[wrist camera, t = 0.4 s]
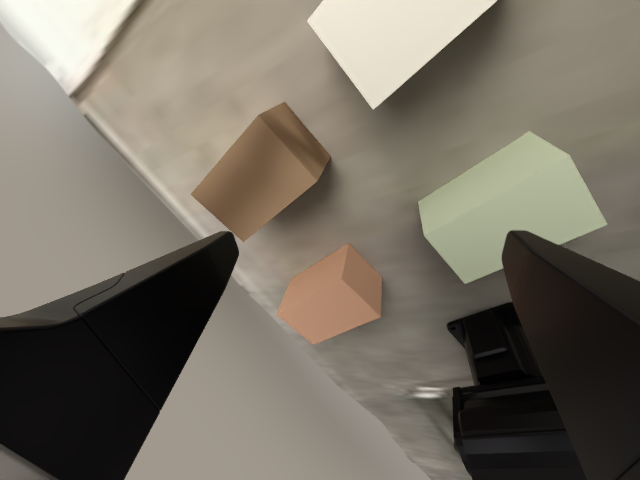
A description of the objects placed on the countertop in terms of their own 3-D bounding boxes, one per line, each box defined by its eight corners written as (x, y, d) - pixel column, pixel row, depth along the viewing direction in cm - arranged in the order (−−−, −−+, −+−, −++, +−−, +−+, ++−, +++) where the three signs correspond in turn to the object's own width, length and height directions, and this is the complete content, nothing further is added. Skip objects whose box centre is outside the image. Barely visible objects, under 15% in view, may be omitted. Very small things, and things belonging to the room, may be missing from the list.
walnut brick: (331, 155, 21) (317, 181, 17) (266, 211, 25) (243, 241, 21) (285, 101, 20) (258, 115, 16) (224, 169, 24) (190, 194, 20)
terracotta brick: (382, 276, 27) (381, 317, 23) (323, 306, 31) (313, 344, 27) (349, 242, 25) (341, 278, 21) (291, 278, 29) (276, 314, 25)
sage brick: (561, 187, 19) (607, 224, 15) (452, 243, 23) (465, 284, 19) (528, 130, 18) (569, 155, 14) (417, 201, 22) (424, 235, 18)
